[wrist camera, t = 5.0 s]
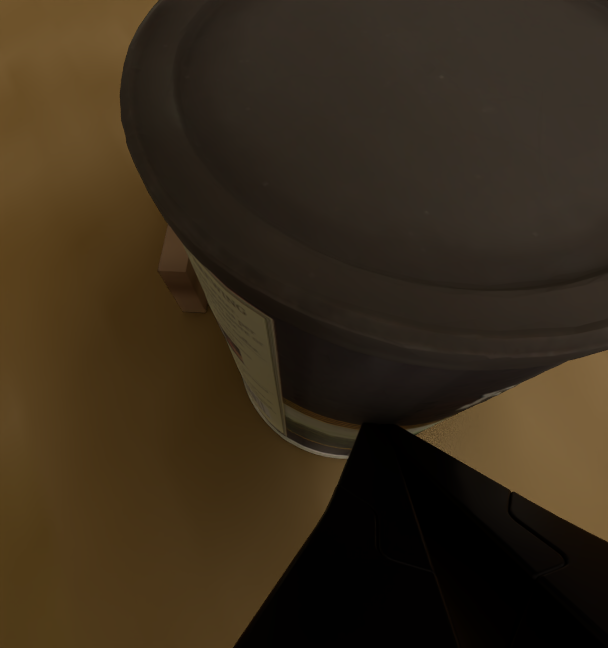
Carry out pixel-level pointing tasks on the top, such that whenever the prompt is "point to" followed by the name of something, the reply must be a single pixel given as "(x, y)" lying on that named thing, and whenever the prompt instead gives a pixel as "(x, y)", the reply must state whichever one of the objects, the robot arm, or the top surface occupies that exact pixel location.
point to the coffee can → (381, 195)
